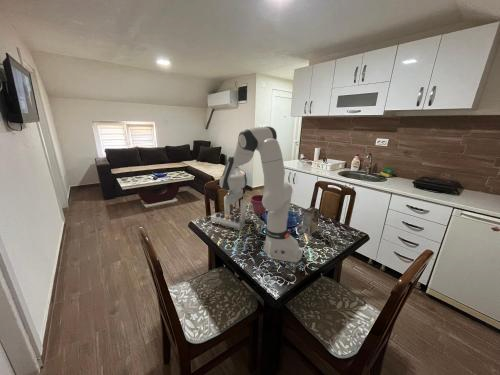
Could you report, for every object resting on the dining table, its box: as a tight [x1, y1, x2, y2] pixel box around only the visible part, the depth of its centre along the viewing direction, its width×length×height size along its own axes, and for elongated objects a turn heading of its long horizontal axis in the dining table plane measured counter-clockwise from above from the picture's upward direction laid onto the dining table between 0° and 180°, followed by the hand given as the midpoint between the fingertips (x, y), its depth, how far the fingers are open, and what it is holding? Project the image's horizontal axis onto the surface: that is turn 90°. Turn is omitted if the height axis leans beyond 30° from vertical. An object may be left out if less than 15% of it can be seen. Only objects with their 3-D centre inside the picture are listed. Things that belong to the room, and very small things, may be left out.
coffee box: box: [301, 206, 320, 236], centre depth 140 cm, size 9×6×16 cm
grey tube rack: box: [210, 212, 246, 231], centre depth 150 cm, size 25×8×7 cm, turn 65°
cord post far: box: [223, 195, 231, 216], centre depth 161 cm, size 4×4×16 cm
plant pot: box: [250, 194, 267, 216], centre depth 168 cm, size 14×14×13 cm
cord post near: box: [239, 198, 247, 221], centre depth 155 cm, size 4×4×16 cm
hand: (234, 206), depth 157 cm, fingers closed
